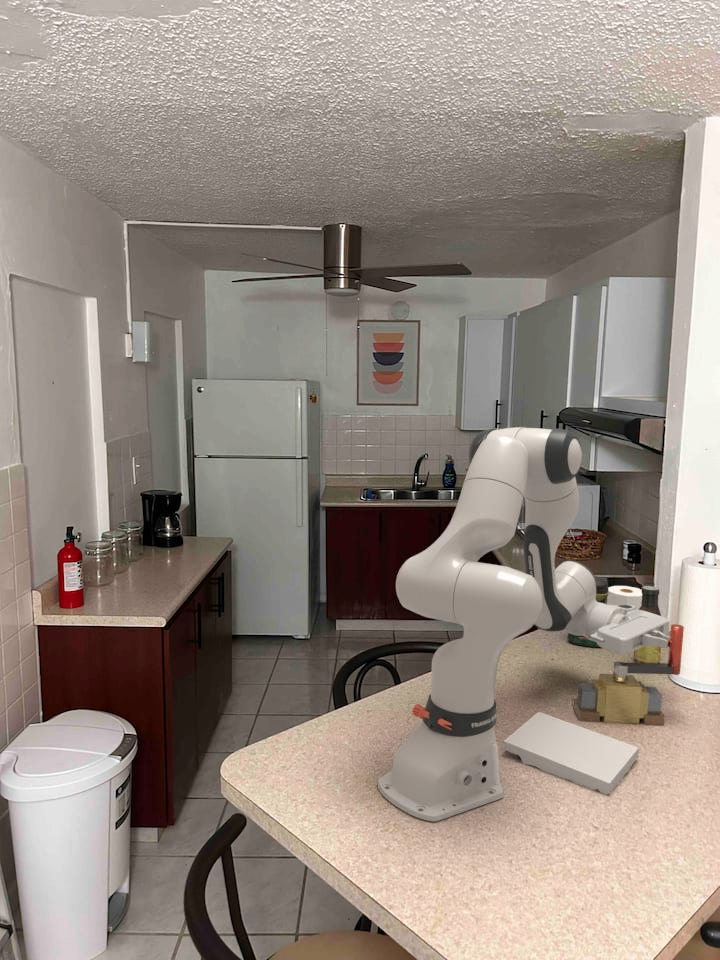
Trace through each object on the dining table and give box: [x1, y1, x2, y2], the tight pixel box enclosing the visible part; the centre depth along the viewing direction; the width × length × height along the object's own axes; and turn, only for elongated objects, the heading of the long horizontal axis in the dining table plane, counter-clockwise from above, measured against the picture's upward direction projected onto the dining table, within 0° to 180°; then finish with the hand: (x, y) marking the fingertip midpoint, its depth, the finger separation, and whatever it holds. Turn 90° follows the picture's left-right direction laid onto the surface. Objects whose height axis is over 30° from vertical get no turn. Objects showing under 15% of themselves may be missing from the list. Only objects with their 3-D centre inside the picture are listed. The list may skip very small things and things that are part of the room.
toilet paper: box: [606, 585, 642, 610], centre depth 199 cm, size 10×10×12 cm
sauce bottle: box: [632, 585, 662, 663], centre depth 175 cm, size 7×6×20 cm
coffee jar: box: [567, 575, 609, 648], centre depth 190 cm, size 10×8×19 cm
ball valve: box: [572, 673, 666, 726], centre depth 148 cm, size 6×17×8 cm, turn 85°
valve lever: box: [612, 623, 685, 682], centre depth 147 cm, size 14×3×12 cm, turn 89°
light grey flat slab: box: [502, 711, 640, 796], centre depth 132 cm, size 15×3×20 cm
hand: (670, 643), depth 147 cm, fingers closed, pressing on valve lever
